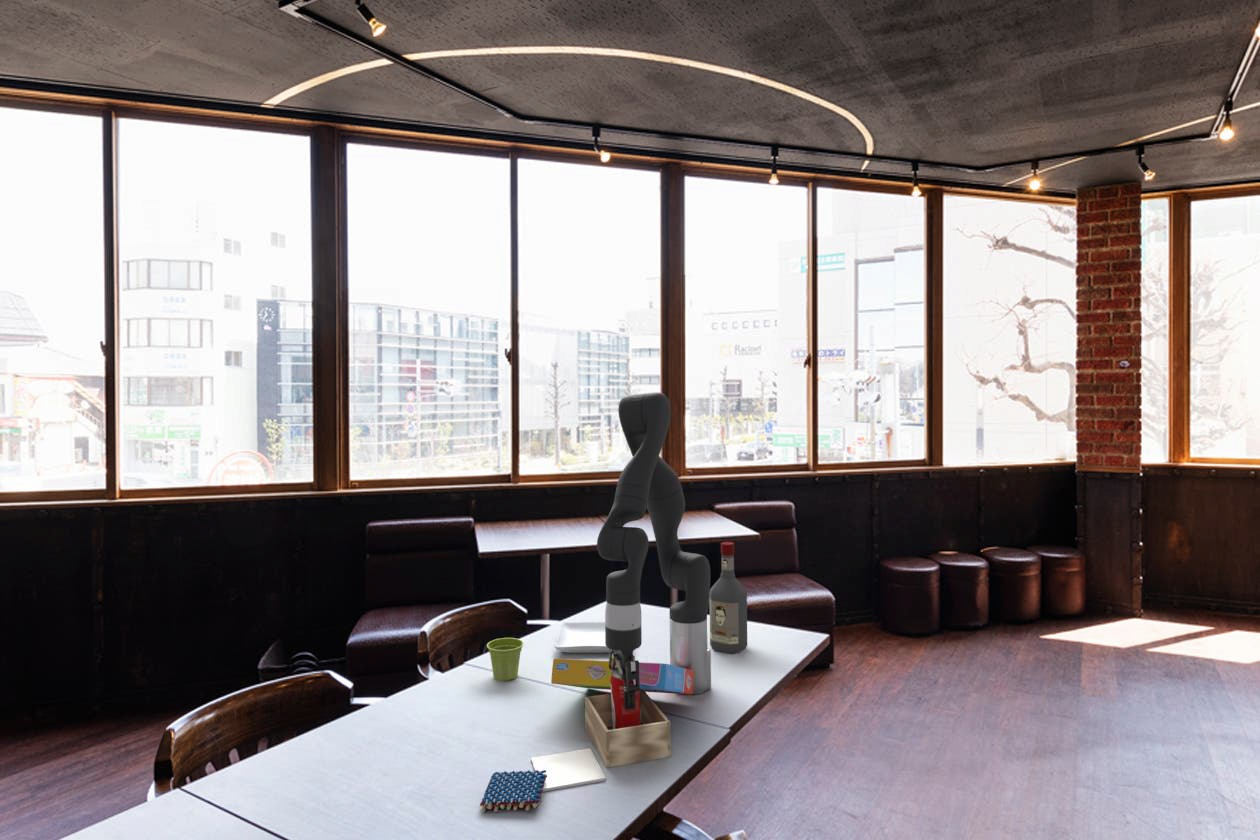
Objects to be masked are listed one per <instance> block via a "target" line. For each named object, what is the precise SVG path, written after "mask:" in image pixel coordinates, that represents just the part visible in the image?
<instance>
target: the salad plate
mask: <svg viewBox="0 0 1260 840" xmlns="http://www.w3.org/2000/svg"><path fill="white" fill-rule="evenodd" d="M553 647H554V648H555V650H557V651H558V652H562V653H568V654H604V653H605V654H606V653H607V654H609V648H608V647H607V646H606V644H605V621H601V622H599V621H588V622H587V621H583V622H581V621H580V622H578V621H575V622H562V624H561V625H560V629H559V633H558V636H557V639H556V640H555V643H554V646H553Z"/></svg>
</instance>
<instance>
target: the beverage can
mask: <svg viewBox="0 0 1260 840" xmlns="http://www.w3.org/2000/svg"><path fill="white" fill-rule="evenodd" d="M624 675H626V674H624ZM610 685H611V690H610V694H611V702H612V720H613V726H612V730H613V729H619V728H626V727H632V726H638V725H641V722H640V708H639V691H635V709H632V710H626V709H625V708H624V689H623V682H622V681H620V678H619V673H618V670H617V669H615V670H613V671H612V675H611V678H610ZM630 685H632V681H631V680H630Z"/></svg>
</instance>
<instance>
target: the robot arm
mask: <svg viewBox="0 0 1260 840" xmlns="http://www.w3.org/2000/svg"><path fill="white" fill-rule="evenodd" d="M671 408H672V407H671V403H670V400H669V398H668V397H667V396H666V394H665V393H662V392H658V391H657V392H656V391H655V392H646V393H645V392H644V393H638V394H637V393H636V394H629V395H626V396H623V397H622V398H621V399H620V401H619V404H618V419H619V422H620V426H621V428H622V432H623V434H624V438H625V441H626V443H627V444H628V445H627V446H628V447H629V451H630V453H631V456H632V457H631V459H630V460H629V461H628V462H627V464H626V465H625V466H624V468H623V469H622V472H621V473H620V475H619V477H618V481H617V485H616V490H615V495H614V500H613V504H612V507H611V510H610V511H609V513H608V515H607V518H606V520H605V522H603V525H602V527H601V529H600V531H599V533H598V536H597V540H596V549H597V552H598V554H599V556H600V557H601V558H602V559H603V560H607V561H615V562H616V561H617V562H628V566H627V568H626V569H623V570H617V571H612V572H610V573H609V574H608V575H607V576H606V582H605V583H606V584H605V586H606V587H605V592H606V595H605V596H606V597H605V598H606V599H605V601H606V603H605V604H606V605H605V609H604V610H605V612H604V619H605V620H604V622H605V644H606V646H607V647H608V648H609V653H608V661H609V669H611V674H612V671H613V670H615V669H617V670H618V673H619V678H620V681H622V682H623V689H624V708H625V709H626V710H632V709H635V691H639V690H640V686H639V661H640V660H638V659H637V660H636V657H635V655H634V651H635V650H637V649H639V648H640V647H641V646H642V637H643V636H642V629H643V628H642V607H641V581H642V580H641V579H642V572H643V568H644V564H645V560H646V557H647V554H648V551H649V544H650V543H649V542H650V541H649V537H648V534H647V532H646V531H645V530H644V529H643V528H642V527H635V526H634V527H633V526H632V527H631V526H625V525H626V524H629V523H631V522H637V521H639V520H641V519H643V518H644V517H645V515H646V511H647V512H648V515H649V518H650V522H651V526H652V531H653V535H654V539H655V543H656V547H657V555H658V561H659V567H660V572H661V576H662V579H663V582H664V583H665V585H666V586H668V587H669V588H670V589H675V590H679V591H685V599H684V601H678V602H676V603H673V604H671V606H670V607H669V661H670V662H669V663H670V664H669V665H673V666H678V667H682V668H686V669H689V670H692V671H693V672H694V676H693V694H692V695H698V694H702V693H704V692H707V691H708V690H711V689H712V664H711V663H712V662H711V661H712V656H711V655H712V653H711V650H710V649H709V648H708V611H709V608H710V603H709V598H710V589H711V588H710V587H711V566H710V562H709V559H708V558H707V557H706V556H705V555H704V554H703V555H702V554H699V553H694V552H693V553H692V552H688V551H687V552H685V551H683V550H682V548H681V546H680V541H679V537H678V530H679V527H680V524H681V522H682V519H683V517H684V513H685V509H686V500H685V496H684V492H683V491H684V490H683V487H682V484H681V481H680V477H679V476H678V475H677V473H676V472H675V471H674V469H673V468H671V466H670V465H669V464H668V463H667V462H666V461H665V459H663V458H662V457H661V456H660V454H661V451H662V449H663V446H664V443H665V440H666V437H667V433H668V430H669V427H670V423H671V418H672V417H671V416H672V410H671ZM624 674H626V675H624ZM630 680H631V681H632V685H630Z"/></svg>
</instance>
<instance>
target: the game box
mask: <svg viewBox="0 0 1260 840" xmlns="http://www.w3.org/2000/svg"><path fill="white" fill-rule="evenodd" d="M551 668H552V669H551V670H552V671H551V684H553V685H559V686H560V685H561V686H567V687H574V688H581V689H582V688H583V689H590V690H610V691H611V685H610V678H611V675H612V674H611V669H609V660H599V659H598V660H597V659H596V660H595V659H580V658H579V659H577V658H575V659H574V658H558V657H557V658H553V660H552V667H551ZM693 676H694V672H693V671H692V670H689V669H686V668H682V667H678V666H673V665H670V664H669V663H663V662H662V663H661V662H639V686H640V689H643V690H644V691H645V692H646V693H661V694H674V695H675V694H676V695H677V694H679V695H694V694H693Z"/></svg>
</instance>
